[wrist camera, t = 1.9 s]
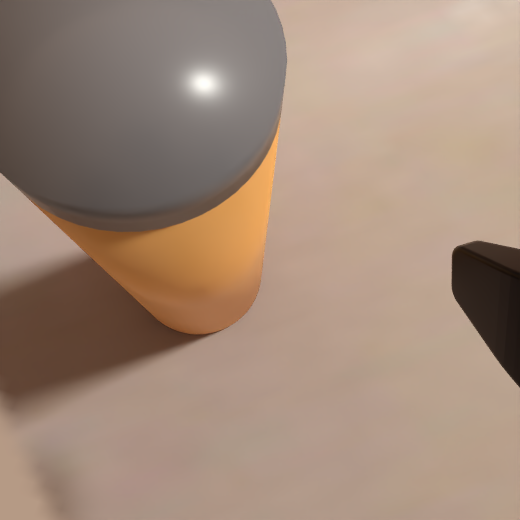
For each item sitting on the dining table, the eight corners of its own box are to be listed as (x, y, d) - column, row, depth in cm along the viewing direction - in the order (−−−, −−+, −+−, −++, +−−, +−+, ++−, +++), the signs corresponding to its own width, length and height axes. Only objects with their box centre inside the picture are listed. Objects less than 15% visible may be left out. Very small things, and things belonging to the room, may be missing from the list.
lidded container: (239, 350, 19) (228, 252, 7) (118, 312, 19) (-113, 149, 7) (276, 234, 20) (323, -29, 8) (162, 201, 21) (37, -104, 8)
